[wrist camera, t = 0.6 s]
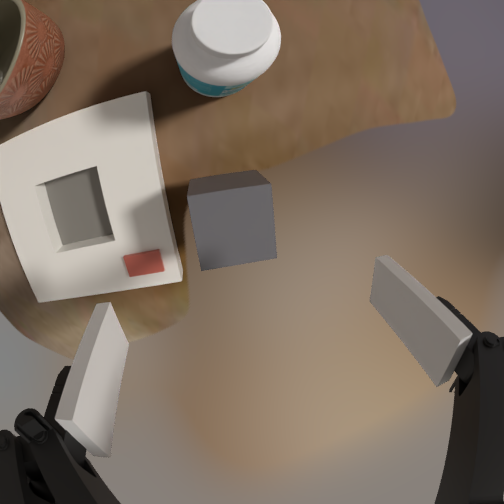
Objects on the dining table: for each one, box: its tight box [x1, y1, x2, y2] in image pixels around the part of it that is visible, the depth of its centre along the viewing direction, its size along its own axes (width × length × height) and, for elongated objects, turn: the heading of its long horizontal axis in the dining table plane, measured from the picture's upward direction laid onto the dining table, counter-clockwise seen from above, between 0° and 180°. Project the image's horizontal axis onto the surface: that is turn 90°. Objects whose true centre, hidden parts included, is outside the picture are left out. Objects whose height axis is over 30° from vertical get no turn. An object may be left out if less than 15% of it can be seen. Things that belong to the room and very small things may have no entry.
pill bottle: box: [172, 0, 281, 97], centre depth 18 cm, size 8×7×14 cm
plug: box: [187, 170, 277, 271], centre depth 26 cm, size 6×6×10 cm
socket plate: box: [0, 91, 183, 303], centre depth 26 cm, size 20×20×3 cm
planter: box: [0, 0, 65, 120], centre depth 14 cm, size 12×12×11 cm
